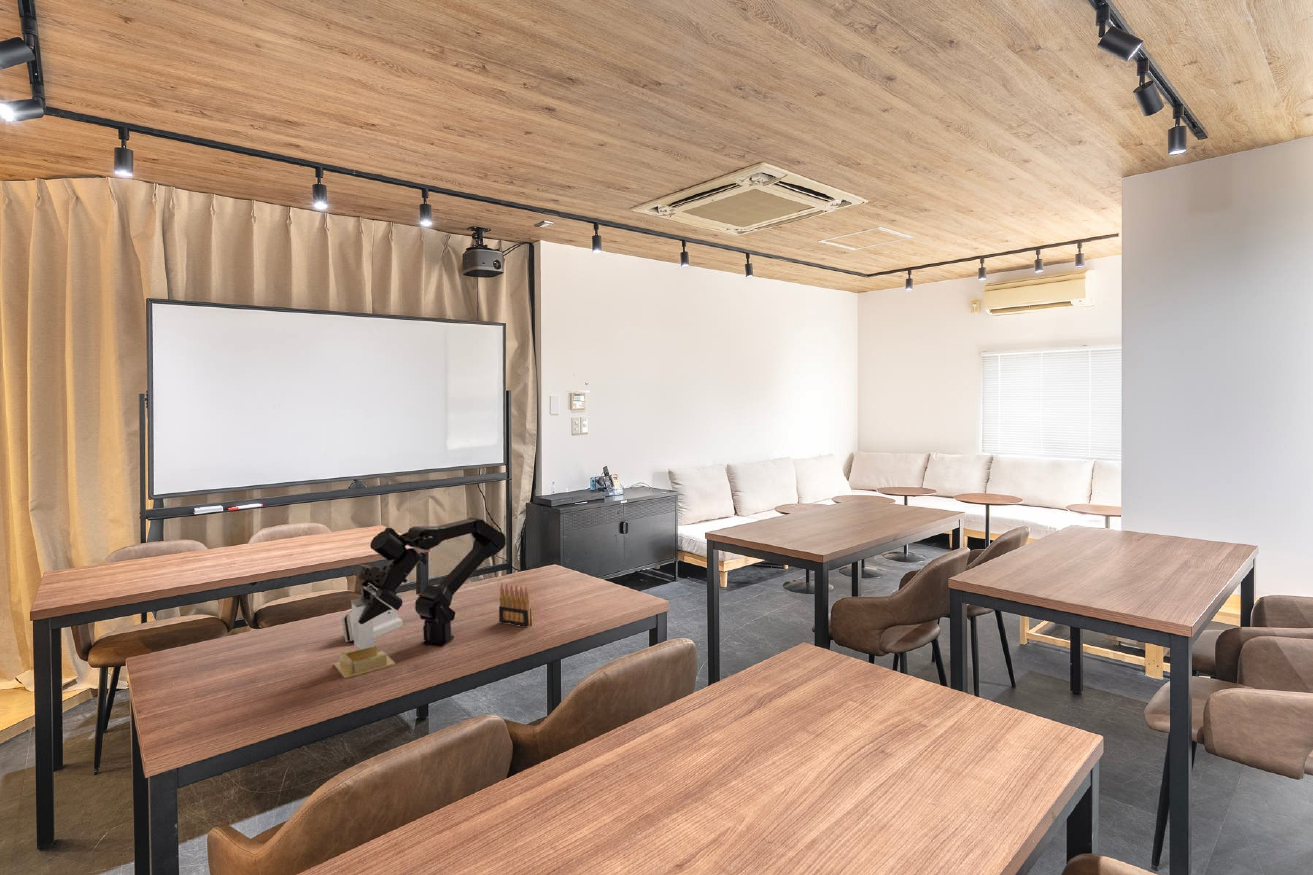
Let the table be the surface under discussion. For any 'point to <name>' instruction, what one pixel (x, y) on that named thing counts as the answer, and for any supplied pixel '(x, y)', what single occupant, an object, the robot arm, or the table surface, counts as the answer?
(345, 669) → the strike pocket
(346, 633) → the white rounded housing
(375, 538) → the robot arm
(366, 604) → the bar
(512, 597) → the ammunition clip
